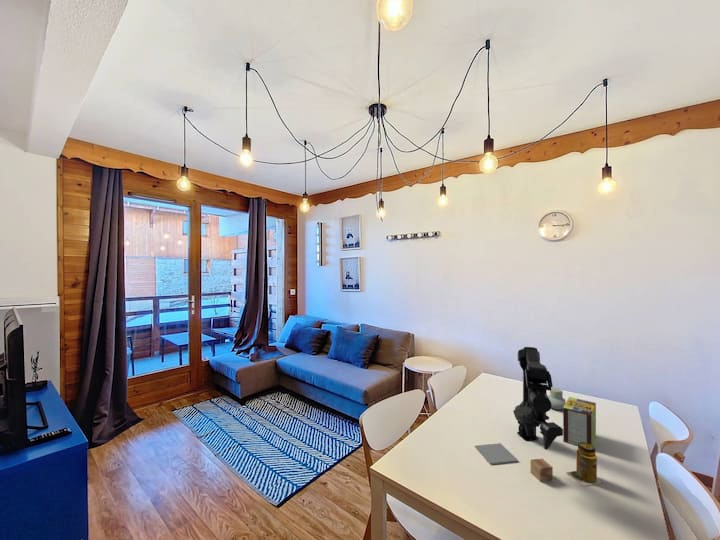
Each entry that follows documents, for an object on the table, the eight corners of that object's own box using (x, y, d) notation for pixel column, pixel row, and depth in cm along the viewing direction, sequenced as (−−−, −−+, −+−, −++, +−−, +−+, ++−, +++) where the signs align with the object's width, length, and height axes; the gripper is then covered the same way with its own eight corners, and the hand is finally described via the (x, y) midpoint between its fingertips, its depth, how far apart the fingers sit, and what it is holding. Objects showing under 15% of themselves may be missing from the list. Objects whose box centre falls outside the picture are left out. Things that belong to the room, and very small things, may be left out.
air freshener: (548, 402, 176) (548, 384, 175) (565, 406, 171) (565, 388, 171) (546, 409, 167) (546, 391, 167) (564, 413, 162) (564, 394, 162)
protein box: (596, 436, 140) (596, 402, 140) (591, 451, 129) (591, 414, 129) (568, 428, 147) (568, 396, 147) (562, 441, 136) (562, 406, 136)
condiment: (603, 482, 110) (603, 449, 110) (584, 486, 108) (584, 453, 108) (584, 469, 117) (584, 438, 117) (566, 473, 115) (565, 441, 115)
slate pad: (500, 444, 134) (500, 443, 134) (518, 461, 122) (518, 460, 122) (474, 446, 132) (474, 445, 132) (490, 464, 121) (490, 463, 121)
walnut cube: (542, 471, 116) (542, 458, 116) (552, 480, 112) (552, 467, 111) (530, 472, 116) (530, 459, 116) (540, 482, 111) (540, 468, 111)
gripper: (502, 391, 123) (502, 430, 123) (534, 413, 104) (534, 459, 104) (528, 390, 124) (528, 428, 124) (564, 411, 105) (564, 456, 106)
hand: (537, 442), depth 114 cm, fingers open, 9 cm apart
